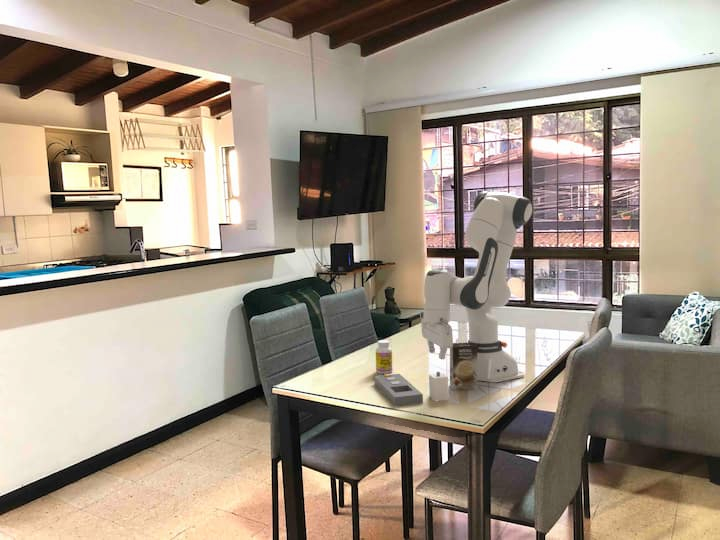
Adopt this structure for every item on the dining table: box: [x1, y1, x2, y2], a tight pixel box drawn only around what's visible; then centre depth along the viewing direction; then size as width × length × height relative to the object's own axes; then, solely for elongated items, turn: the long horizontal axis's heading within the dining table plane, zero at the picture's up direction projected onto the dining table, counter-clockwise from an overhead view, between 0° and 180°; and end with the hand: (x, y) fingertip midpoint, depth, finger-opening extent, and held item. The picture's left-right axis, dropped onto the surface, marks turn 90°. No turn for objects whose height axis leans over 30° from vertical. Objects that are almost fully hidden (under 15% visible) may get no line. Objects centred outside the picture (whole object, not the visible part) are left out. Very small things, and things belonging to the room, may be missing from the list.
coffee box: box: [449, 342, 478, 391], centre depth 210 cm, size 9×6×16 cm
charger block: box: [428, 371, 449, 402], centre depth 199 cm, size 5×5×9 cm
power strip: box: [373, 373, 424, 407], centre depth 207 cm, size 10×26×4 cm, turn 14°
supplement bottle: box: [375, 339, 393, 375], centre depth 233 cm, size 7×7×13 cm
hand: (436, 355), depth 198 cm, fingers open, 8 cm apart
